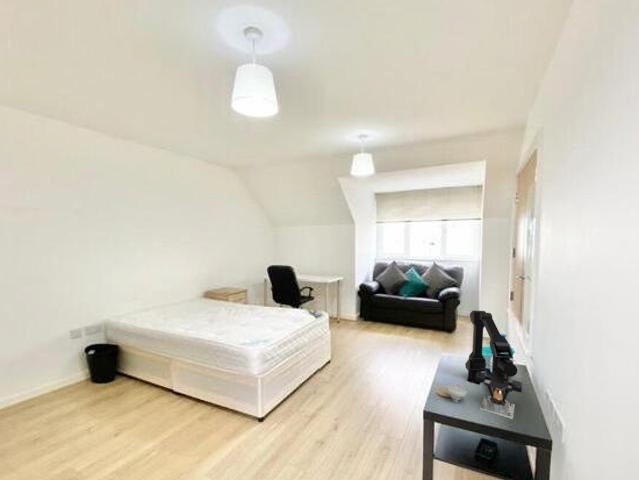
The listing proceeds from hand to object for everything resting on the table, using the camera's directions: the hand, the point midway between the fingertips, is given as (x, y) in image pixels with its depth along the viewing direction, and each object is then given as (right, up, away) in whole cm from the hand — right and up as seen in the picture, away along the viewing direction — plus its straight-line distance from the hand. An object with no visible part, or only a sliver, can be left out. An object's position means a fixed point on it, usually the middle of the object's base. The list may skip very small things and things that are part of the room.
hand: (497, 399), depth 150 cm
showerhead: (-18, -4, +5) cm, 19 cm away
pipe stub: (0, -1, 0) cm, 1 cm away
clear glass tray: (0, -4, 0) cm, 4 cm away
